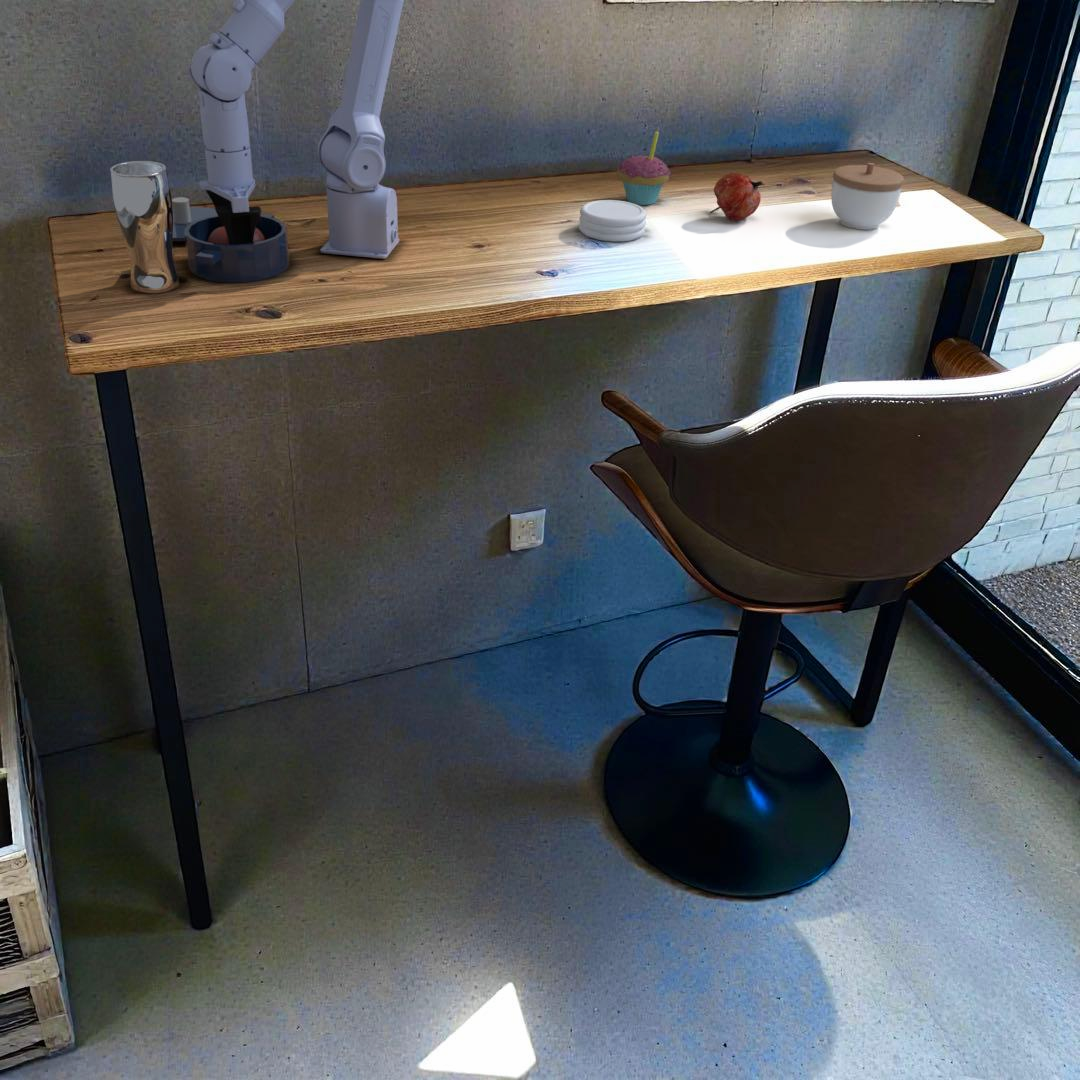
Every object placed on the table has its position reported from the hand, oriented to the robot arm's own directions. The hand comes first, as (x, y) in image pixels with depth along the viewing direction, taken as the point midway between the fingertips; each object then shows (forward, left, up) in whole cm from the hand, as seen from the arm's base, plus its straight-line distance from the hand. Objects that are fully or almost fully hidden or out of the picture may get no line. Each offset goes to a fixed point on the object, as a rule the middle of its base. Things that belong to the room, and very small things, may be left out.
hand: (238, 249), depth 157 cm
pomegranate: (-66, -40, -2) cm, 77 cm away
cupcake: (-51, -45, -2) cm, 68 cm away
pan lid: (+13, -12, -2) cm, 18 cm away
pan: (0, 0, -2) cm, 2 cm away
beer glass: (+8, +10, -2) cm, 13 cm away
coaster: (-48, -28, -2) cm, 56 cm away
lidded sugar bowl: (-86, -43, -2) cm, 96 cm away
